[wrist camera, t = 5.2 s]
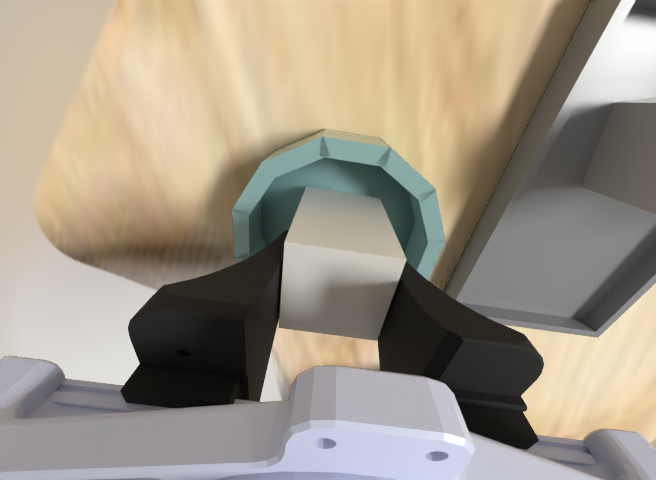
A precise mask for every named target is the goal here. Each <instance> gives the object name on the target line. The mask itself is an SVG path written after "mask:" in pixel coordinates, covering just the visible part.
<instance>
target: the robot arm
mask: <svg viewBox="0 0 656 480" xmlns="http://www.w3.org/2000/svg"><path fill="white" fill-rule="evenodd" d="M288 232H289V230H286V231H284V232H283V233H282V234H281V235H280V236H278V237H277V238H276V239H275V240H274V241H272V242H271V243H270V244H268V245H267V246H266V247H264V248H263V249H261V250H260V251H258V252H257V253H255V254H254V255H252V256H250V257H249V258H247V259H245V260H243V261H241V262H239V263H237V264H235V265H232V266H230V267H227V268H225V269H222V270H220V271H217V272H214V273H211V274H208V275H205V276H202V277H198V278H195V279H191V280H186V281H182V282H177V283H173V284H168V285H163V286H162V287H161V288H160V289H159V290H158V291H157V292H156V293H155V294H154V295H153V296H152V297H151V298H150V299H149V300H148V301H147V302H146V304H145V305H144V306H143V307H142V308H141V309H140V310H139V311H138V312H137V313H136V315H134V317H133V318H132V319H131V320H130V322H129V326H128V331H129V336H130V339H131V342H132V344H133V347H134V349H135V352H136V355H137V357H138V360H139V362H140V365H139V366H138V367H137V369H136V370H135V372H134V373H133V374H132V375H131V377H130V378H129V379H128V381H127V382H126V383H125V385H124V386H122V385H113V384H106V383H97V382H89V381H80V380H72V379H65V375H64V373H63V371H62V369H61V368H60V367H59V366H58V365H57V364H55V363H53V362H50V361H46V360H40V359H32V358H23V357H15V356H6V357H4V358H3V359H1V360H0V480H656V450H655V449H654V448H653V447H652V446H651V444H650V443H649V442H648V441H647V440H646V439H645V438H644V437H643V436H642V434H639V433H637V432H630V431H622V430H614V429H599V430H595V431H593V432H591V433H589V434H588V435H587V436H586V437H584V439H583V441H582V440H574V439H566V438H557V437H549V436H541V435H536V434H535V432H534V430H533V429H532V427H531V425H530V424H529V422H528V420H527V419H526V417H525V415H524V413H523V412H522V411H524V412H525V411H526V410H527V406H526V404H525V402H524V401H523V399H522V398H521V395H522V394H523V393H524V392H525V391H526V390H527V389H528V388H529V387H530V386H531V385H532V384H533V383H534V382H535V381H536V380H537V378H538V377H539V376H540V374H541V373H542V369H543V366H544V362H543V358H542V357H541V355H540V354H539V353H538V351H537V350H536V349H535V347H534V346H533V345H532V344H531V342H530V341H529V340H528V338H527V337H526V336H525V335H524V334H522V333H520V332H518V331H516V330H513V329H511V328H509V327H506V326H504V325H502V324H500V323H497V322H495V321H493V320H491V319H489V318H487V317H485V316H483V315H481V314H479V313H477V312H475V311H474V310H472V309H470V308H468V307H466V306H465V305H463V304H461V303H460V302H458V301H457V300H455V299H453V298H452V297H450V296H449V295H447V294H446V293H444V292H443V291H441V290H440V289H439V288H437V287H436V286H434V285H433V284H432V283H431V282H429V281H428V280H427V279H426V278H424V277H423V276H422V275H421V274H420V273H419V272H418V271H416V270H415V269H414V268H413V267H412V266H411V265H410V264H409V263H408V262H407V261H406V263H405V265H404V268H403V271H402V274H401V276H400V279H399V282H398V285H397V287H396V290H395V293H394V295H393V298H392V301H391V304H390V306H389V309H388V312H387V315H386V317H385V320H384V323H383V325H382V328H381V331H380V334H379V336H378V349H379V361H380V371H377V370H369V369H362V368H354V367H346V366H338V365H328V366H315V367H313V368H310V369H308V370H306V371H303V372H301V373H300V374H298V375H297V377H296V378H295V380H294V381H293V383H292V385H291V388H290V394H289V400H285V401H272V402H260V397H261V392H262V388H263V383H264V379H265V375H266V370H267V366H268V361H269V357H270V353H271V349H272V344H273V340H274V336H275V332H276V328H277V324H278V321H279V316H280V302H281V287H282V272H283V258H284V243H285V239H286V237H287V234H288Z"/></svg>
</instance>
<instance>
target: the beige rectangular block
mask: <svg viewBox="0 0 656 480" xmlns="http://www.w3.org/2000/svg"><path fill="white" fill-rule="evenodd" d="M406 260H407V259H406V257H405V254H404V252H403V250H402V248H401V245H400V243H399V241H398V239H397V236H396V234H395V232H394V229H393V227H392V225H391V223H390V220H389V218H388V216H387V213H386V211H385V209H384V207H383V204H382V202H381V200H380V198H378V197H371V196H365V195H358V194H352V193H345V192H339V191H333V190H326V189H320V188H313V187H307V186H306V188H305V191H304V193H303V196H302V199H301V201H300V204H299V206H298V209H297V211H296V214H295V216H294V219H293V222H292V224H291V227H290V229H289V232H288V234H287V237H286V239H285V243H284V258H283V272H282V287H281V302H280V316H279V328H285V329H293V330H300V331H308V332H315V333H323V334H331V335H338V336H346V337H353V338H361V339H369V340H376V341H377V339H378V336H379V334H380V331H381V328H382V325H383V323H384V320H385V317H386V315H387V312H388V309H389V306H390V304H391V301H392V298H393V295H394V293H395V290H396V287H397V285H398V282H399V279H400V276H401V274H402V271H403V268H404V265H405V263H406Z"/></svg>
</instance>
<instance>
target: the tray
mask: <svg viewBox="0 0 656 480" xmlns="http://www.w3.org/2000/svg"><path fill="white" fill-rule="evenodd" d="M647 98H656V0H591V2H590V4H589V6H588V8H587V10H586V11H585V13H584V15H583V17H582V19H581V21H580V23H579V25H578V27H577V29H576V31H575V33H574V35H573V37H572V39H571V41H570V43H569V45H568V47H567V49H566V51H565V53H564V55H563V57H562V59H561V61H560V63H559V65H558V67H557V69H556V71H555V73H554V75H553V77H552V79H551V81H550V83H549V85H548V87H547V88H546V90H545V92H544V94H543V96H542V98H541V100H540V102H539V104H538V106H537V108H536V110H535V112H534V114H533V116H532V118H531V120H530V122H529V124H528V126H527V128H526V130H525V132H524V134H523V136H522V138H521V140H520V142H519V144H518V146H517V148H516V150H515V152H514V154H513V156H512V158H511V160H510V162H509V164H508V165H507V167H506V169H505V171H504V173H503V175H502V177H501V179H500V181H499V183H498V185H497V187H496V189H495V191H494V193H493V195H492V197H491V199H490V201H489V203H488V205H487V207H486V209H485V211H484V213H483V215H482V217H481V219H480V221H479V223H478V225H477V227H476V229H475V231H474V233H473V235H472V237H471V239H470V240H469V242H468V244H467V246H466V248H465V250H464V252H463V254H462V256H461V258H460V260H459V262H458V264H457V266H456V268H455V270H454V272H453V274H452V276H451V278H450V280H449V282H448V284H447V286H446V288H445V290H444V293H446V294H447V295H449V296H450V297H452V298H453V299H455V300H457V301H458V302H460V303H461V304H463V305H465V306H466V307H468V308H470V309H472V310H474V311H475V312H477V313H479V314H481V315H483V316H485V317H487V318H489V319H491V320H493V321H495V322H497V323H500V324H503V325H510V326H517V327H525V328H532V329H539V330H547V331H554V332H561V333H569V334H576V335H583V336H590V337H599V336H600V335H601V334H602V333H603V332H604V331H605V330H606V329H607V328H608V327H610V326H611V325H612V324H613V323H614V322H615V321H616V320H617V319H618V318H619V317H620V316H621V315H622V314H623V313H624V312H625V311H626V310H627V309H629V308H630V307H631V306H632V305H633V304H634V303H635V302H636V301H637V300H638V299H639V298H640V297H641V296H642V295H643V294H644V293H645V292H646V291H648V290H649V289H650V288H651V287H652V286H653V285H654V284H655V283H656V214H654V213H651V212H649V211H646V210H643V209H640V208H637V207H635V206H632V205H629V204H626V203H624V202H621V201H618V200H615V199H612V198H610V197H607V196H604V195H601V194H599V193H596V192H593V191H590V190H587V189H585V188H582V187H581V185H582V183H583V180H584V178H585V175H586V173H587V170H588V168H589V165H590V163H591V160H592V158H593V155H594V153H595V151H596V148H597V146H598V143H599V141H600V138H601V136H602V133H603V131H604V128H605V126H606V123H607V121H608V118H609V116H610V113H611V111H612V108H613V106H614V103H615V102H622V101H631V100H639V99H647Z"/></svg>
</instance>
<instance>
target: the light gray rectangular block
mask: <svg viewBox="0 0 656 480" xmlns="http://www.w3.org/2000/svg"><path fill="white" fill-rule="evenodd" d="M581 187H582V188H585V189H587V190H590V191H593V192H596V193H599V194H601V195H604V196H607V197H610V198H612V199H615V200H618V201H621V202H624V203H626V204H629V205H632V206H635V207H637V208H640V209H643V210H646V211H649V212H651V213H654V214H656V98H647V99H639V100H631V101H622V102H615V103H614V106H613V108H612V111H611V113H610V116H609V118H608V121H607V123H606V126H605V128H604V131H603V133H602V136H601V138H600V141H599V143H598V146H597V148H596V151H595V153H594V155H593V158H592V160H591V163H590V165H589V168H588V170H587V173H586V175H585V178H584V180H583V183H582V185H581Z"/></svg>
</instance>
